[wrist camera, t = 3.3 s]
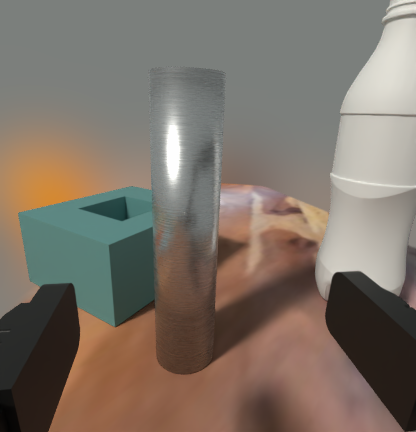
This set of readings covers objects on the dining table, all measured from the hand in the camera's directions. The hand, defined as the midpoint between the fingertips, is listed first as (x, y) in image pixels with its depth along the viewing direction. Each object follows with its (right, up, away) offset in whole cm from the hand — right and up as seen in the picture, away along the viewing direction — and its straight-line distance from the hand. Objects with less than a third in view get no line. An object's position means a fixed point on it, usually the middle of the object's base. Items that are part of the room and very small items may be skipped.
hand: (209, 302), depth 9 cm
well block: (-9, -3, +23) cm, 25 cm away
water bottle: (+13, -5, +19) cm, 24 cm away
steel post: (-2, -7, +12) cm, 14 cm away
